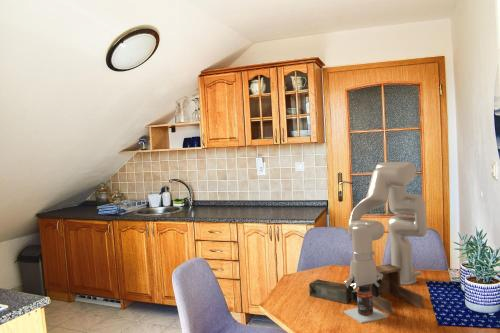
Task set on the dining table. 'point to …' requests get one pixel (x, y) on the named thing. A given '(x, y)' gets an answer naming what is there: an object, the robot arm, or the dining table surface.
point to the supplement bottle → (364, 300)
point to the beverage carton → (330, 291)
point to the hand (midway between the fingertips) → (364, 298)
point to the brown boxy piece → (393, 289)
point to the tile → (365, 318)
